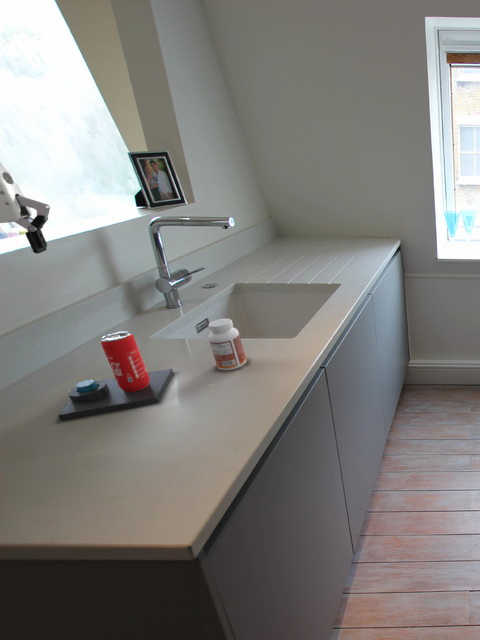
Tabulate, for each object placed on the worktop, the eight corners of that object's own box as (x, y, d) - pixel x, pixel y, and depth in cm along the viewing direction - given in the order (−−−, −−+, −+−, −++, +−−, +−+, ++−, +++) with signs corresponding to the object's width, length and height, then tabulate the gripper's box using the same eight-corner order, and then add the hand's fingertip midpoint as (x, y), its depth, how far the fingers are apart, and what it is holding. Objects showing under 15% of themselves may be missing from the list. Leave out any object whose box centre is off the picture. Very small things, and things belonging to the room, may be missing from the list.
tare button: (76, 395, 89) (73, 388, 88) (82, 387, 92) (79, 381, 91) (94, 391, 90) (91, 385, 89) (100, 384, 93) (97, 378, 92)
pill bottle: (237, 356, 109) (225, 315, 105) (252, 362, 106) (241, 320, 102) (212, 367, 104) (198, 324, 100) (227, 373, 102) (214, 330, 97)
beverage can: (150, 389, 93) (129, 337, 88) (119, 396, 91) (96, 343, 86) (152, 378, 97) (133, 328, 92) (123, 384, 95) (102, 334, 90)
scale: (60, 421, 85) (54, 408, 84) (88, 388, 96) (82, 376, 95) (158, 403, 91) (153, 390, 90) (174, 373, 102) (170, 362, 101)
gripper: (36, 153, 81) (74, 245, 88) (-93, 155, 75) (-42, 254, 82) (14, 154, 75) (57, 254, 82) (-130, 158, 69) (-70, 265, 76)
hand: (7, 254), depth 82 cm, fingers open, 9 cm apart
